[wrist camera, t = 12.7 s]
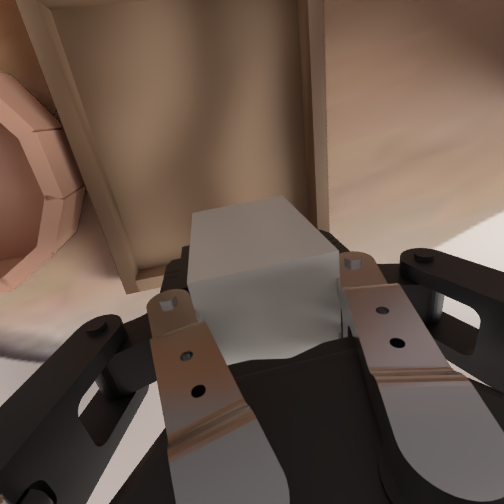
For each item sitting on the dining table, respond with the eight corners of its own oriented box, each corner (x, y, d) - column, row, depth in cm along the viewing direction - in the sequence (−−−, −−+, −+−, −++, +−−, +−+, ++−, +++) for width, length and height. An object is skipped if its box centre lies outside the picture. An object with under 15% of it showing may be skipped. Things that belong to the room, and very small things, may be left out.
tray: (307, -34, 15) (322, -53, 14) (319, 241, 22) (329, 251, 20) (28, -7, 14) (6, -24, 12) (131, 279, 21) (126, 294, 19)
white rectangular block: (282, 195, 13) (339, 250, 8) (291, 273, 15) (342, 362, 10) (192, 212, 13) (187, 283, 8) (212, 290, 15) (218, 392, 9)
